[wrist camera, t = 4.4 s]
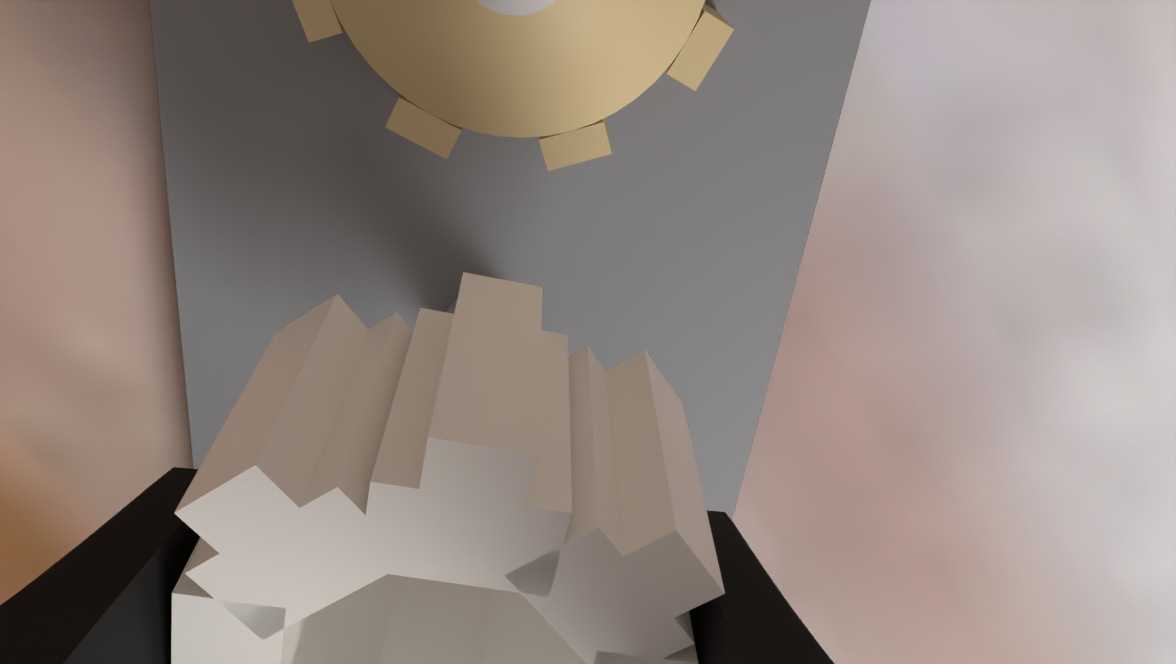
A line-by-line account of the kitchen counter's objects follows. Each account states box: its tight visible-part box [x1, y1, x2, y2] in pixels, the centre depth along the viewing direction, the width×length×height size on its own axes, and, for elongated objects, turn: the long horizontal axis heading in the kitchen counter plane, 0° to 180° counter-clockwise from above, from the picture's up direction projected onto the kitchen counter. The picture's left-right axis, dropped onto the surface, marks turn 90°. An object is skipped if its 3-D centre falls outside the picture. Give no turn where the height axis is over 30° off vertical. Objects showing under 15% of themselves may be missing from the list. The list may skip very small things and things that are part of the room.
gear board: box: [149, 0, 871, 520], centre depth 16 cm, size 11×22×4 cm, turn 172°
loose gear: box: [171, 272, 725, 664], centre depth 11 cm, size 5×7×4 cm
